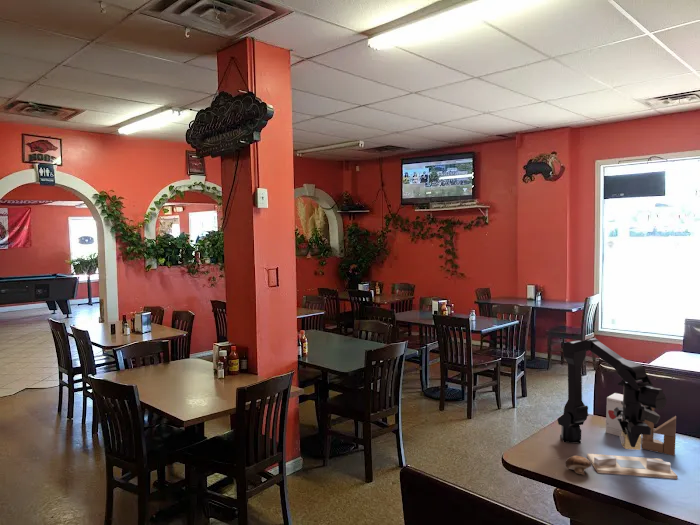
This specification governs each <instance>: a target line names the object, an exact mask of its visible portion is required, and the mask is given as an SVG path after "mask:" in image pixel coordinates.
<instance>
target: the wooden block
mask: <svg viewBox="0 0 700 525" xmlns="http://www.w3.org/2000/svg"><path fill="white" fill-rule="evenodd" d="M643 406H645V405H643ZM651 408H652V407H651ZM655 410H656V409H655V408H652V411H654V412H655ZM642 422H645V423H646V424H647V425H648V426H649V427H650V428H651V435H644V434H642V436H641V438H642V444H641V450H645V451H650V452H655V453H660V454H664V455H667V456H668V455H669V456H673V457H674V456H675V454H676V431H677V430H676V429H677V416H676V415H675V416H672V417H671V418H670V419H667V421H665V422H664V423H662V424H660V425H659V426H657V427H656V428H655V424H653V423H652V422H650V421H647V420H645V421H642ZM654 434H657V435H661V436H662V435H663V442H662V441H660V440H658V439H655V438H654Z"/></svg>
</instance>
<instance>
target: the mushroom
mask: <svg viewBox="0 0 700 525" xmlns="http://www.w3.org/2000/svg"><path fill="white" fill-rule="evenodd" d="M565 466H566V468H567V469H569V470H573V471H574V472H575V473H576V474H578V475H582V476H585V475H586V473H585V471H586V469H589V468H591V466H592V463H591V461H590V460H589V458H586V457H584V456H580V455H572V456H570V457H568V458H567V459H566V461H565Z"/></svg>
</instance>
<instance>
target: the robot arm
mask: <svg viewBox="0 0 700 525" xmlns="http://www.w3.org/2000/svg"><path fill="white" fill-rule="evenodd" d="M589 351H590V352H591V353H592V354H594V355H595V356H597V357H598V358H599V359H601V360H603V361H604V362H605V363H606V364H608V365H609V366H610V367H612V368H613V369H614V370H615V372H616V374H617V375H618V376H619V377H620V378H621V379H622V380H621V381H619V382H618V383H617V385H618V386H620V387H623V389H622V390H623V391H622V392H623V394H622V395H623V401H621V404H622V405H623V407H616V408H615V409H614V415H615V416H616V417H618V416H619V415H620V419H617V420H618V422H619V424H620V426H621V429H622V430H623V431H626V433H627V436H628V439H629V442H630V445H631V447H635V445H636V443H637V440H638V438H639V436H640V435H643V434H644V435H651V428H650V427H649V426H648V425H647V424H646V423H645V422H643V421H645V420H647V421H650V422H652V423H653V424H654V425H656V426H657V424H658V423H659V420H660V419H661V415H660V414H658V413H657V412H656V411H655V410H657V411H658V410H659V411H662V410H663V409H665V407H666V404H667V401H668V400H667V397H666V394H665V393H663V392H664V391H663V389H662V388H658V387H654V384H653V383H652V381H651V379H650V378H649V376H648V374H647V372H646V368H645V366H643V365H641V364H640V363H638V362H635V361H633V360H629V359H626V358H624V357H622V356H621V355H619V354H618V353H617V352H615V351H613V350H612V349H611V348H609V347H608V346H607V345H605V344H603V343H602V342H601V341H600V340H599V339H597V338H593V337H592V338H587V339H584V340H573V341H566V342H565V343H564V344H563V345H562V354H563V358H564V360H565V361H566V363H567V396H568V397H567V401H566V403H565V405H564V407H563V414H562V415H561V416H559V417H558V418H557V420H556V421H557V424H558V425H559V426H561V433H560V435H559V436H560V438H561V440H562V442H563V443H570V444H572V443H573V444H581V443H582V429H581V426H583V425H584V424H585V421H586V420H587V419H588V417H589V406H588V405H585V403H584V401H583V389H582V388H583V387H582V386H583V385H582V384H583V382H582V381H583V380H582V379H583V378H582V377H583V376H582V374H583V372H582V370H583V369H582V366H583V362H584V360H585V359H586V354H587V352H589ZM644 405H645V406H644ZM651 407H652V408H655V409H654V411H652V408H651Z"/></svg>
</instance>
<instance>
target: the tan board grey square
mask: <svg viewBox="0 0 700 525" xmlns="http://www.w3.org/2000/svg"><path fill="white" fill-rule="evenodd" d="M586 456H587V459H588V460H589V461H590V463H591V466H593V468H594V469H595V471H596V473H597V474H599V473H600V474H609V475H610V474H612V475H622V476H623V475H625V476H635V477H636V476H637V477H651V478H664V479H674V480H675V479H676V480H677V479H678V474H676V472H675V471H674V470H672V467H671V465H672V464H671V462H669V461H664V460H663V459H662V458H656V457H654V458H653V457H641V456H629V455H628V456H627V455H625V456H624V455H612V454H611V455H610V454H601V453H597V454H596V453H586Z"/></svg>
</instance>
